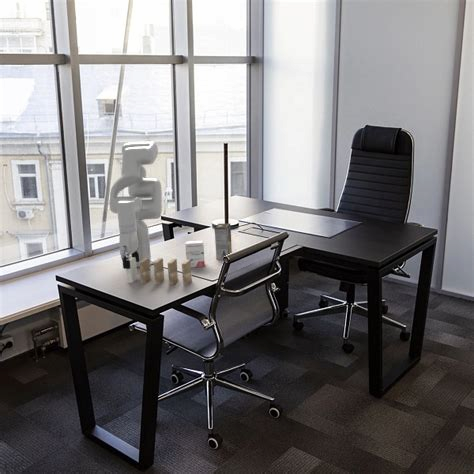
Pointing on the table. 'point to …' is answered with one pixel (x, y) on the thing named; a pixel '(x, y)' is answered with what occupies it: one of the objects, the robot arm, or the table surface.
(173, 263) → the domino
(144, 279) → the domino
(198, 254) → the ink box
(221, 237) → the coffee box
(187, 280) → the domino
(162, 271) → the domino
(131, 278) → the cream domino
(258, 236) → the table surface
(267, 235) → the table surface
